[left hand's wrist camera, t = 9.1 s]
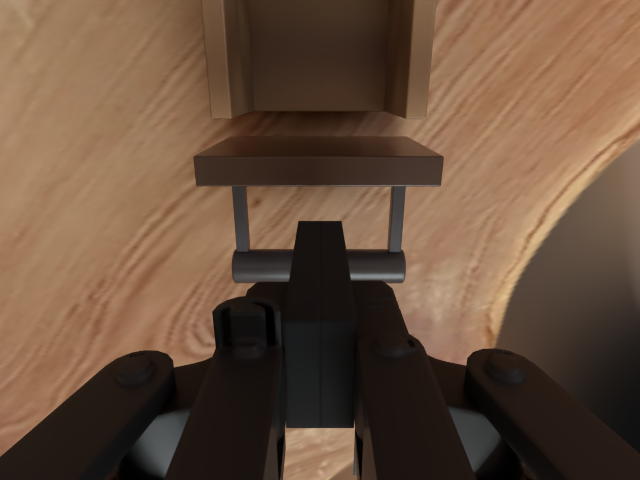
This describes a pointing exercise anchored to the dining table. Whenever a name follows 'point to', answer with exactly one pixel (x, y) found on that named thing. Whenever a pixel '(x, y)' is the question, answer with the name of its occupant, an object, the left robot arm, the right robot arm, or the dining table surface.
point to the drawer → (318, 109)
